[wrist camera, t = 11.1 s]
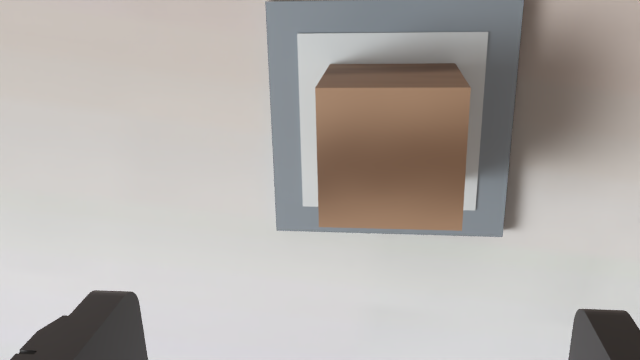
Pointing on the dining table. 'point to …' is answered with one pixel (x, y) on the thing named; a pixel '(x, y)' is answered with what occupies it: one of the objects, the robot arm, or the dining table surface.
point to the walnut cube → (392, 146)
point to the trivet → (393, 48)
